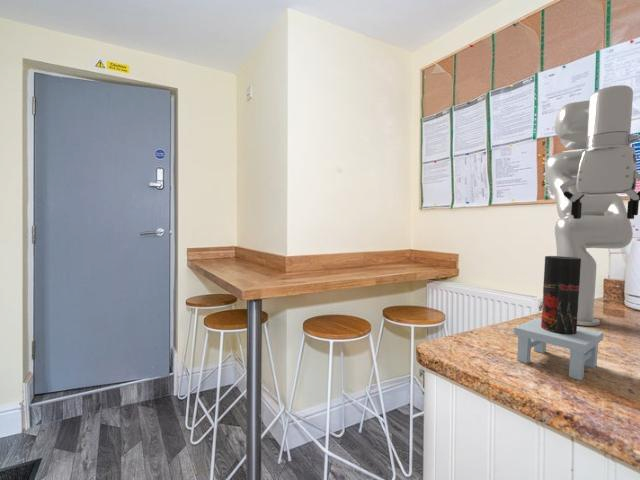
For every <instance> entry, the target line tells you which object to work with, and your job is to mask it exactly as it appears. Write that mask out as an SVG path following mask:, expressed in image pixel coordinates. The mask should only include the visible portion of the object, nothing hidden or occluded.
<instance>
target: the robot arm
mask: <svg viewBox="0 0 640 480" xmlns="http://www.w3.org/2000/svg"><path fill="white" fill-rule="evenodd" d="M633 99H634V91H633V88H632V87H631V86H629V85H622V84H621V85H620V84H619V85H612V86H611V85H610V86H607V87H604V88H601V89H598V90H597V91H595V92H593V93H592V94H591V95H590V97H589V99H588V100H581V101H575V102H569V103H565V104H564V105H563V106H561V108H560V110H559V111H558V113H557V115H556V118H555V120H554V132H555V135H556V137H557V138H559V140H560V144H561V145H562V146H563V147H564V148H566V149H569V150H574V151H564V152H560V153H555V154H553V155H550V157H548V158H547V160H546V162H545V165H544V173H545V179H546V182H547V185H548V186H549V188H550V190H551V191H552V193H553V194H554V196H555V198H554V199H555V204H556V210H557V213H558V217H559V219H558V220H557V221H556V222H555V225H554V235H555V243H556V245H555V246H556V256H563V257H575V258H581V268H580V284H579V300H578V316H577V326H584V327H585V326H587V327H588V326H589V327H593V326H594V327H596V326H599V325H601V320H600V319H599V318H598V317H596V316H594V312H595V311H594V310H595V309H594V308H595V296H596V282H597V281H596V278H597V261H596V260H595V258H594V257H593V256H592V255H591V254H590V252H588V250H587V249H610V250H611V249H612V250H614V249H624V248H626V247H627V246H629V244H630V243H631V242H632V240H633V227H632V223H631V220H634V219H635V216H638V215H639V204H640V190H639V191H638V192H636V191H635V190H636V188H637V180H638V181H640V173H639V172H637V155H636V149H635V147H634V146H631V145H632V143H634V142H638V141H639V140H640V135H639V134H635V135H634V134H632V133H631V127H632V114H633V102H634V101H633ZM618 194H626V195H627V196H628V198H629V200H628V202H627V208H626V205H625V203H624V200H623V198H622V197H621V196H619V195H618Z"/></svg>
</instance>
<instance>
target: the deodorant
mask: <svg viewBox="0 0 640 480" xmlns="http://www.w3.org/2000/svg"><path fill="white" fill-rule="evenodd" d="M580 268H581V258H575V257H563V256H557V255H546V256H544V271H543V287H542V290H543V291H542V303H541V304H542V305H541V307H542V309H541V319H542V321H541V328H542V329H544V330H547V331H550V332H554V333H559V334H567V335H572V334H576V332H577V327H578V325H577V316H578V300H579V284H580Z"/></svg>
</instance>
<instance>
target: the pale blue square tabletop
mask: <svg viewBox="0 0 640 480" xmlns="http://www.w3.org/2000/svg"><path fill="white" fill-rule="evenodd" d="M541 321H542V318H538V317H535V318H533V319H531V320H529V321H527V322H524V323H522V324H519V325H517V326H515V327H514V328H513V329H514V330H513V333H514V334H513V335H514V336H518V337H517V339H518V340H517V352H516V353H517V356H516V357H517V358H516V360H517V361H518V362H520V363H523V364H528V363H530V362H531V353H532V352H531V350H532V348H533V351H534V352H537V353H540V354H545V353H546V352H547V344H548V345H553V346H557V347H559V348H560V347H561V348H564V349H568V350H569V351H570V352H569V368H568V378H571V379H575V380H578V381H582V380H583V379H584V378H585V377H584V375H585V374H584V373H585V366H586V367H589V368H593V369H595V368H596V367H597V366H598V365H597V364H598V350H599V349H598V348H599V343H600V342H602V341H603V340H604V331H599V330H595V329H589V328H585V327H581V326H577V332H576V334H572V335H567V334H559V333H554V332H550V331H547V330H544V329H542V328H541Z"/></svg>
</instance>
